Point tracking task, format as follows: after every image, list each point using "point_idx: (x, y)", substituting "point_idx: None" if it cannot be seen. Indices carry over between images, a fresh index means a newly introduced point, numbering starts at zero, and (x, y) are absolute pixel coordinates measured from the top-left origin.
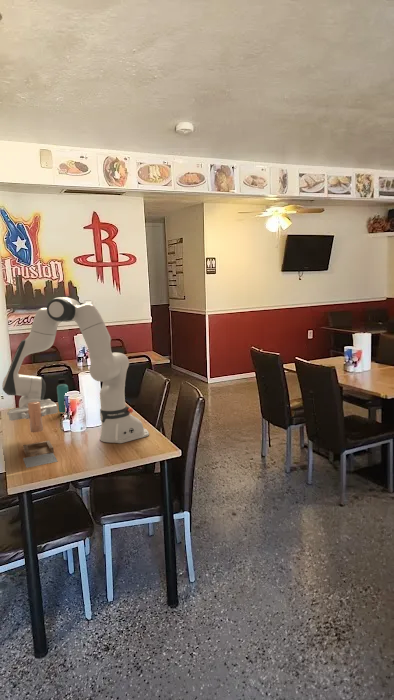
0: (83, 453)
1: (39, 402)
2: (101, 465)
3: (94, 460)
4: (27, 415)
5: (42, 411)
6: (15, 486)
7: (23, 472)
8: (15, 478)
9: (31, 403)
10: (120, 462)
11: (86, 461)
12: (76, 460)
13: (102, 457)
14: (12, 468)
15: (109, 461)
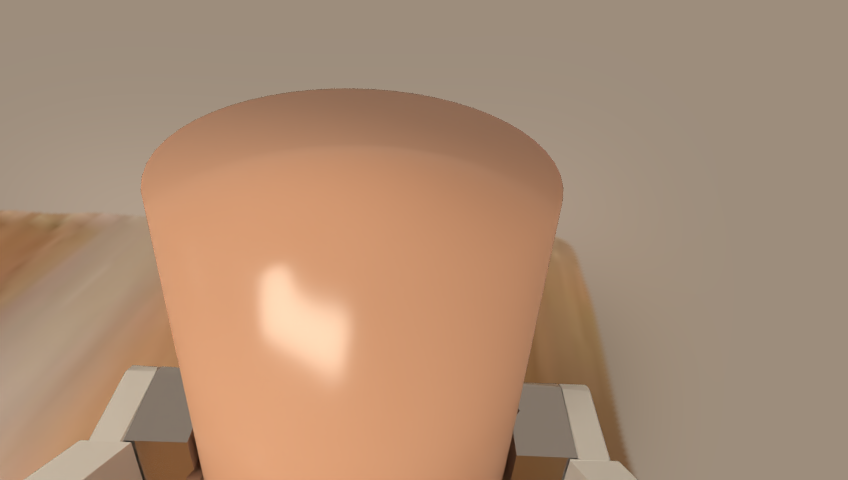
0: (21, 456)
1: (185, 141)
2: (108, 239)
3: (79, 304)
4: (539, 384)
5: (142, 433)
6: (560, 241)
7: (530, 358)
8: (572, 309)
9: (438, 171)
10: (8, 225)
11: (126, 314)
12: (163, 358)
13: (3, 318)
14: (620, 461)
15: (33, 256)
